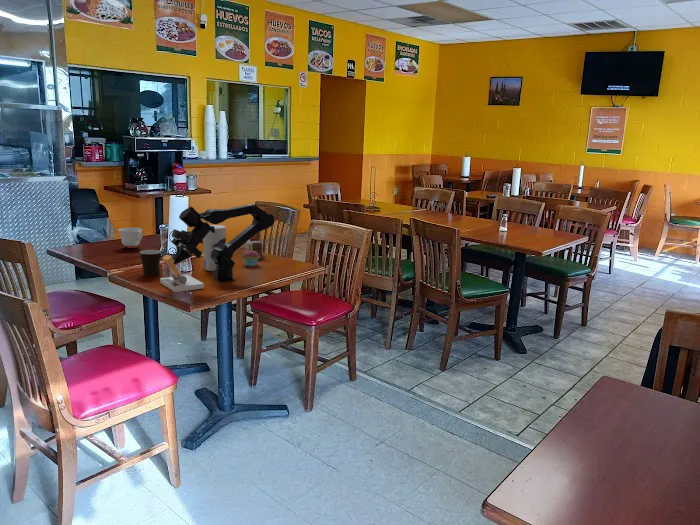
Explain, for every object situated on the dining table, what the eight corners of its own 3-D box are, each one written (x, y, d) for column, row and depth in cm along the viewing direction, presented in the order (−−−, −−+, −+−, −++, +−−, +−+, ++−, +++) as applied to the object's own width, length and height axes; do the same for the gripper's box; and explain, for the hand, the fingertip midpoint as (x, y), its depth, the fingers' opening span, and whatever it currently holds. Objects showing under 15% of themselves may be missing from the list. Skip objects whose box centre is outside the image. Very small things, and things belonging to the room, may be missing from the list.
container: (218, 272, 252) (218, 228, 248) (199, 269, 255) (198, 226, 251) (230, 267, 261) (229, 225, 257) (211, 265, 265) (211, 223, 260)
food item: (244, 253, 294) (244, 235, 292) (259, 252, 297) (259, 234, 294) (249, 259, 281) (249, 239, 279) (264, 258, 284) (265, 239, 282)
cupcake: (261, 266, 266) (261, 242, 264) (243, 267, 263) (243, 242, 260) (257, 262, 274) (257, 238, 271) (240, 263, 271) (240, 239, 268)
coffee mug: (155, 277, 239) (154, 254, 237) (137, 275, 241) (136, 253, 239) (169, 271, 251) (168, 249, 248) (151, 269, 252) (150, 248, 250)
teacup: (132, 251, 286) (131, 232, 284) (114, 248, 293) (113, 229, 291) (151, 248, 296) (151, 229, 294) (133, 244, 303) (132, 226, 301)
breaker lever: (179, 275, 230) (167, 254, 225) (184, 278, 226) (171, 257, 221) (174, 279, 229) (161, 257, 224) (179, 281, 225) (166, 260, 220)
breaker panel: (188, 279, 238) (187, 268, 237) (203, 288, 226) (203, 276, 225) (160, 283, 231) (160, 271, 230) (174, 292, 219) (174, 280, 218)
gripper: (174, 218, 231) (149, 247, 227) (192, 225, 216) (166, 256, 212) (193, 235, 237) (169, 263, 233) (212, 243, 223) (187, 273, 219)
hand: (172, 264), depth 224 cm, fingers closed, pressing on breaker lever
